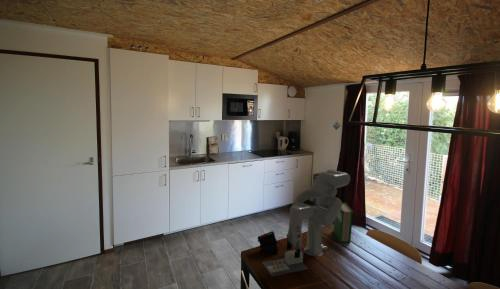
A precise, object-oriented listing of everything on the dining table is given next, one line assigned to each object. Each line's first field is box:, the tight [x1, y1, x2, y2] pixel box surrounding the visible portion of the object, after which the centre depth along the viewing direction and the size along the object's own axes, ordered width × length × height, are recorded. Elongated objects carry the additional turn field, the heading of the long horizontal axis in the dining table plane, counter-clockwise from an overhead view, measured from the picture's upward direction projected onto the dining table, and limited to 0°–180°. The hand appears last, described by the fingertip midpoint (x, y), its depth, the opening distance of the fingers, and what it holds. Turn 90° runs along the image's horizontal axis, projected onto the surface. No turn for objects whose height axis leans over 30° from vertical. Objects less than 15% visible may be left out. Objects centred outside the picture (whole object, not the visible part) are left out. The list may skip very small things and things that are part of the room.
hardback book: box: [333, 202, 354, 244], centre depth 191 cm, size 18×7×24 cm, turn 176°
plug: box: [284, 249, 310, 265], centre depth 157 cm, size 16×4×6 cm, turn 110°
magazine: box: [257, 230, 279, 254], centre depth 166 cm, size 4×13×15 cm, turn 87°
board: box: [261, 257, 309, 277], centre depth 152 cm, size 24×14×5 cm, turn 110°
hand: (292, 253), depth 155 cm, fingers open, 9 cm apart
